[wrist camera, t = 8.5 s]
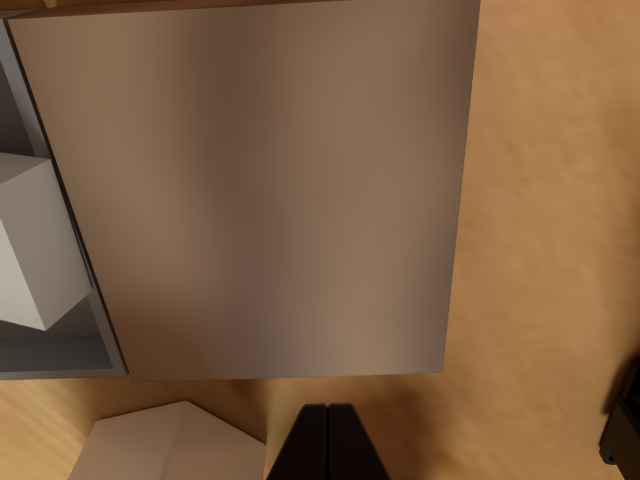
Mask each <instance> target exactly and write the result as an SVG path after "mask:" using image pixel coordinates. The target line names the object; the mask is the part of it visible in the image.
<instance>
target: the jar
mask: <svg viewBox="0 0 640 480" xmlns="http://www.w3.org/2000/svg"><path fill="white" fill-rule="evenodd" d="M265 457H266V446H265V444H264V443H262V442H260V441H259V440H257V439H255V438H253V437H251V436H250V435H248V434H246V433H244V432H242V431H241V430H239V429H237V428H235V427H234V426H232V425H230V424H228V423H226V422H225V421H223V420H221V419H219V418H217V417H216V416H214V415H212V414H210V413H208V412H207V411H205V410H203V409H201V408H200V407H198V406H196V405H194V404H192V403H191V402H189V401H180V402H175V403H171V404H167V405H162V406H158V407H154V408H149V409H145V410H141V411H136V412H132V413H127V414H123V415H119V416H114V417H110V418H106V419H101V420H98V421H97V422H96V423H95V424H94V426H93V428H92V430H91V432H90V434H89V436H88V438H87V440H86V442H85V445H84V447H83V449H82V451H81V453H80V455H79V457H78V459H77V461H76V464H75V466H74V468H73V470H72V472H71V474H70V476H69V478H68V480H263V474H264V466H265Z"/></svg>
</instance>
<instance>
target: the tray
mask: <svg viewBox="0 0 640 480" xmlns="http://www.w3.org/2000/svg"><path fill="white" fill-rule="evenodd" d="M42 10H46V8H28V9H11V10H0V153H8V154H16V155H23V156H31V157H39V158H46V159H51V163H52V166H53V169H54V172H55V175H56V178H57V181H58V184H59V187H60V191H61V194H62V197H63V200H64V203H65V206H66V209H67V212H68V216H69V219H70V222H71V225H72V228H73V231H74V234H75V237H76V240H77V244H78V247H79V250H80V253H81V256H82V259H83V262H84V265H85V269H86V272H87V275H88V278H89V281H90V284H91V287H92V291H91V292H90V293H89V294H88V295H86V296H85V297H84V298H83V299H82V300H81V301H79V302H78V303H77V304H76V305H75V306H74V307H73V308H71V309H70V310H69V311H68V312H67V313H66V314H65V315H63V316H62V317H61V318H60V319H59V320H58V321H57V322H55V323H54V324H53V325H52V326H51V327H50V328H48V329H47V330H46V331H44V330H40V329H36V328H32V327H28V326H24V325H20V324H16V323H12V322H8V321H4V320H0V380H26V379H59V378H91V377H123V376H128V374H129V370H128V367H127V364H126V361H125V359H124V356H123V353H122V350H121V347H120V344H119V341H118V338H117V335H116V333H115V330H114V327H113V324H112V321H111V318H110V315H109V312H108V309H107V307H106V304H105V301H104V298H103V295H102V292H101V289H100V286H99V283H98V280H97V278H96V275H95V272H94V269H93V266H92V263H91V260H90V257H89V254H88V252H87V249H86V246H85V243H84V240H83V237H82V234H81V231H80V228H79V226H78V223H77V220H76V217H75V214H74V211H73V208H72V205H71V202H70V199H69V197H68V194H67V191H66V188H65V185H64V182H63V179H62V176H61V173H60V171H59V168H58V165H57V162H56V159H55V156H54V153H53V150H52V147H51V145H50V142H49V139H48V136H47V133H46V130H45V127H44V124H43V121H42V118H41V116H40V113H39V110H38V107H37V104H36V101H35V98H34V95H33V92H32V90H31V87H30V84H29V81H28V78H27V75H26V72H25V69H24V66H23V64H22V61H21V58H20V55H19V52H18V49H17V46H16V43H15V40H14V37H13V35H12V32H11V29H10V26H9V23H8V19H12V18H16V17H19V16H23V15H27V14H31V13H35V12H39V11H42Z"/></svg>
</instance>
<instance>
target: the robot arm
mask: <svg viewBox="0 0 640 480" xmlns="http://www.w3.org/2000/svg"><path fill="white" fill-rule="evenodd" d="M599 454H600V456H601V458H602V459H603V461H604V463H606V464H610V465H617V466H618V468H619V470H620V472H621V474H622V475H623V477H624V479H625V480H640V357H638V358H636V359H635V360H634V361H633V362H632V364H631V366H630V368H629V371H628V374H627V377H626V379H625V382H624V385H623V387H622V390H621V393H620V396H619V398H618V401H617V404H616V406H615V409H614V412H613V414H612V417H611V420H610V423H609V425H608V428H607V431H606V433H605V436H604V439H603V442H602V444H601V447H600V450H599ZM266 480H392V479H391V477H390V475H389V473H388V471H387V469H386V467H385V465H384V463H383V461H382V459H381V457H380V456H379V454H378V452H377V450H376V448H375V446H374V444H373V442H372V440H371V438H370V436H369V434H368V432H367V431H366V429H365V427H364V425H363V423H362V421H361V419H360V417H359V415H358V413H357V411H356V409H355V408H354V406H353V405H352V404H351V403H332V404H330V405H329V406H328V407H327V405H326V404H306V405H304V406H303V407H302V408H301V410H300V412H299V414H298V416H297V418H296V420H295V422H294V424H293V426H292V428H291V430H290V432H289V434H288V436H287V438H286V440H285V442H284V444H283V446H282V448H281V450H280V452H279V454H278V456H277V458H276V460H275V462H274V464H273V466H272V468H271V470H270V472H269V474H268V476H267V478H266Z"/></svg>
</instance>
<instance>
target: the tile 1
mask: <svg viewBox="0 0 640 480" xmlns="http://www.w3.org/2000/svg"><path fill="white" fill-rule="evenodd" d="M91 291H92V287H91V284H90V281H89V278H88V275H87V272H86V269H85V265H84V262H83V259H82V256H81V253H80V250H79V247H78V244H77V240H76V237H75V234H74V231H73V228H72V225H71V222H70V219H69V216H68V212H67V209H66V206H65V203H64V200H63V197H62V194H61V191H60V187H59V184H58V181H57V178H56V175H55V172H54V169H53V166H52V163H51V159H46V158H39V157H31V156H23V155H16V154H8V153H0V320H4V321H8V322H12V323H16V324H20V325H24V326H28V327H32V328H36V329H40V330H44V331H46V330H47V329H48V328H50V327H51V326H52V325H53V324H54V323H55V322H57V321H58V320H59V319H60V318H61V317H62V316H63V315H65V314H66V313H67V312H68V311H69V310H70V309H71V308H73V307H74V306H75V305H76V304H77V303H78V302H79V301H81V300H82V299H83V298H84V297H85V296H86V295H88V294H89V293H90V292H91Z"/></svg>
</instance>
